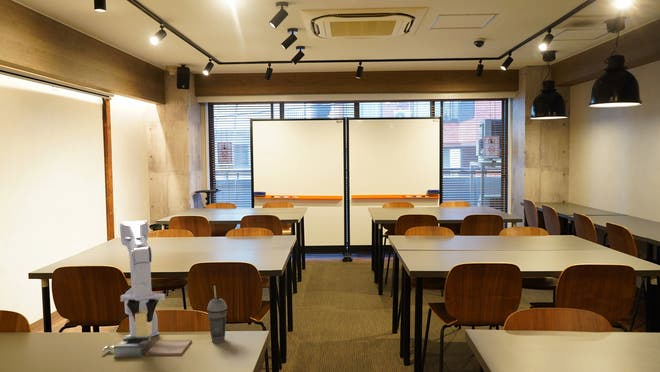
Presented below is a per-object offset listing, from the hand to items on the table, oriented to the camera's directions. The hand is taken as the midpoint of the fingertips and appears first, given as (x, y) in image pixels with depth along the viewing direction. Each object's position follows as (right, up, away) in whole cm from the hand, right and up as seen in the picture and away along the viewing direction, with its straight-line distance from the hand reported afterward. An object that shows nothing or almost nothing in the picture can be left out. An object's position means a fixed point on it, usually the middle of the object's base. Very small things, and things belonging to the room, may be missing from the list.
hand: (143, 321), depth 163 cm
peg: (0, -5, 0) cm, 5 cm away
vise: (-6, -11, 0) cm, 12 cm away
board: (+8, -10, +2) cm, 13 cm away
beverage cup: (+24, -10, +9) cm, 27 cm away
